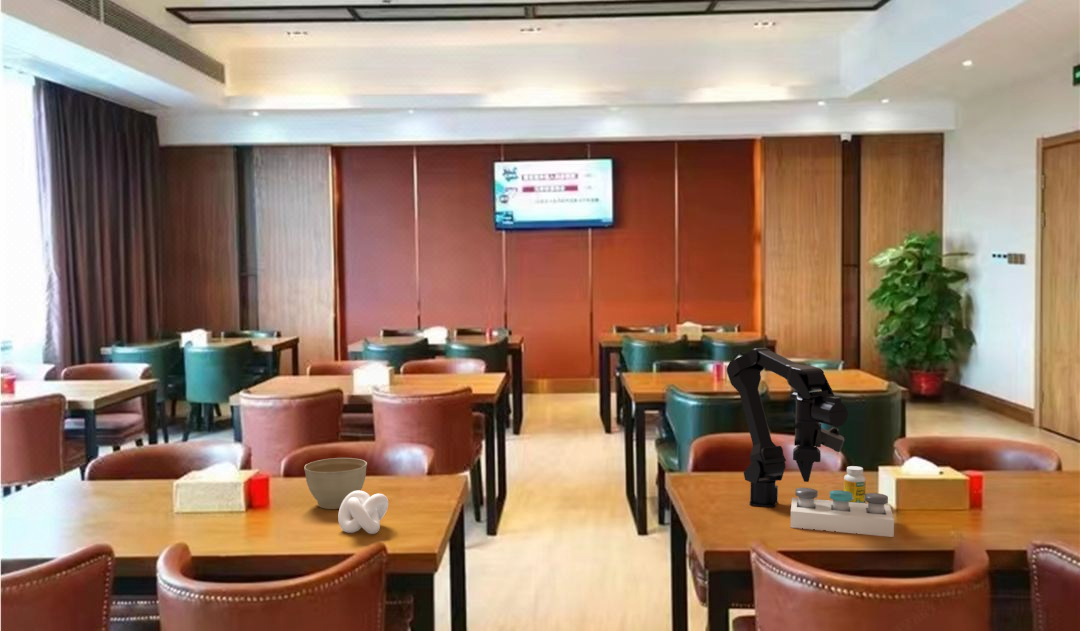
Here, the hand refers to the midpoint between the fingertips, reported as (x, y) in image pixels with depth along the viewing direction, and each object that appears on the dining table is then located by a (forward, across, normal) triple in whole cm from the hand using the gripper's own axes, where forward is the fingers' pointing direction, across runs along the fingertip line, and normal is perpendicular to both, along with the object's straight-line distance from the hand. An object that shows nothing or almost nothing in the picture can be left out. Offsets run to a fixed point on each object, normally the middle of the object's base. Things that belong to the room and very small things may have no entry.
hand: (806, 481), depth 205 cm
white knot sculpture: (+10, -39, +101) cm, 109 cm away
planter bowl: (+11, -22, +119) cm, 121 cm away
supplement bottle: (+10, +19, -12) cm, 25 cm away
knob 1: (+6, 0, 0) cm, 6 cm away
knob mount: (+10, 0, -8) cm, 13 cm away
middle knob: (+6, 0, -8) cm, 10 cm away
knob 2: (+6, 0, -16) cm, 17 cm away
